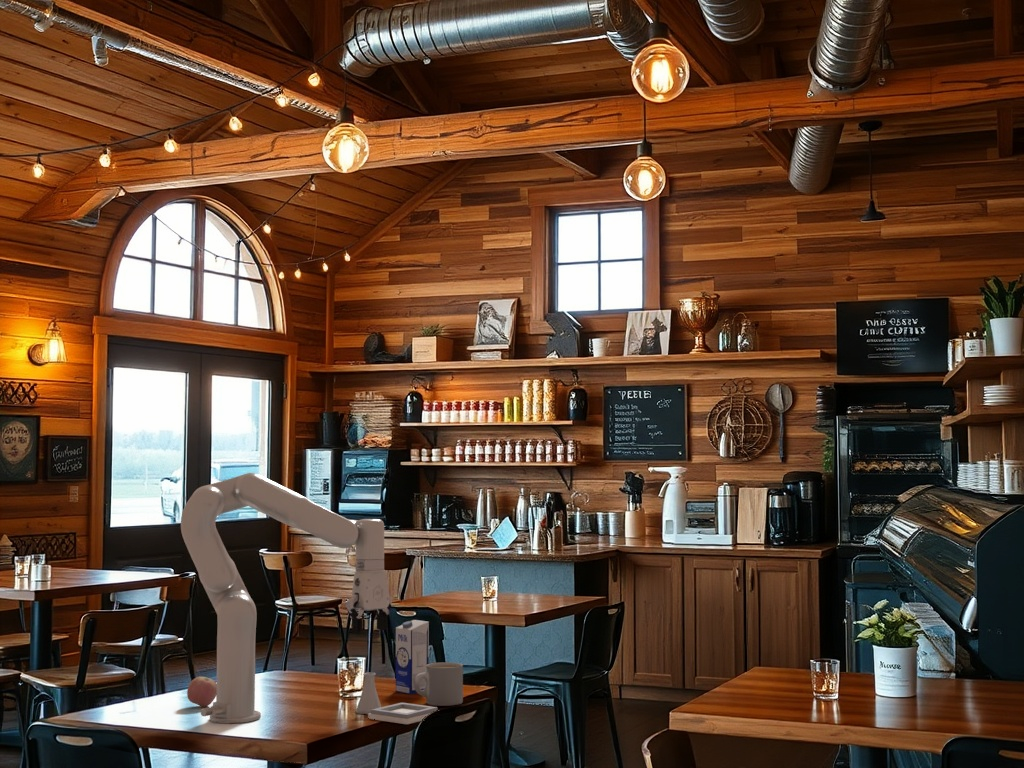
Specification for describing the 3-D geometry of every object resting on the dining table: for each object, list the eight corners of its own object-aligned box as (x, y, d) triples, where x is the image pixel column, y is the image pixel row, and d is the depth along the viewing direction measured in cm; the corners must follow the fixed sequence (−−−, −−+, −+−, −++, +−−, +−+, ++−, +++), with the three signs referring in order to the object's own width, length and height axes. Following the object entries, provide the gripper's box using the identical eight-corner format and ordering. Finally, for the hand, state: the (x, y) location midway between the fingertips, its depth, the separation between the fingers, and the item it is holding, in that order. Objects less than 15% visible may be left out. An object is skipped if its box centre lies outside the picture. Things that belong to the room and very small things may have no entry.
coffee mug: (460, 698, 331) (460, 661, 332) (464, 705, 322) (464, 667, 323) (412, 700, 329) (412, 663, 330) (415, 706, 320) (415, 668, 320)
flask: (385, 710, 315) (386, 671, 316) (380, 715, 308) (380, 675, 309) (358, 709, 316) (359, 671, 317) (352, 715, 309) (352, 675, 310)
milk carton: (429, 691, 342) (429, 620, 344) (410, 694, 338) (410, 622, 339) (413, 688, 348) (414, 618, 349) (395, 691, 343) (395, 620, 345)
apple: (200, 711, 315) (201, 680, 315) (180, 708, 319) (181, 677, 320) (223, 706, 322) (223, 675, 322) (203, 703, 326) (203, 673, 326)
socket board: (407, 724, 296) (407, 715, 296) (368, 718, 304) (368, 709, 304) (440, 716, 307) (440, 707, 307) (401, 710, 314) (401, 702, 314)
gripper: (358, 568, 307) (357, 636, 305) (402, 564, 321) (402, 629, 320) (336, 567, 311) (336, 634, 310) (381, 563, 325) (380, 627, 324)
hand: (369, 631), depth 315 cm, fingers open, 9 cm apart
